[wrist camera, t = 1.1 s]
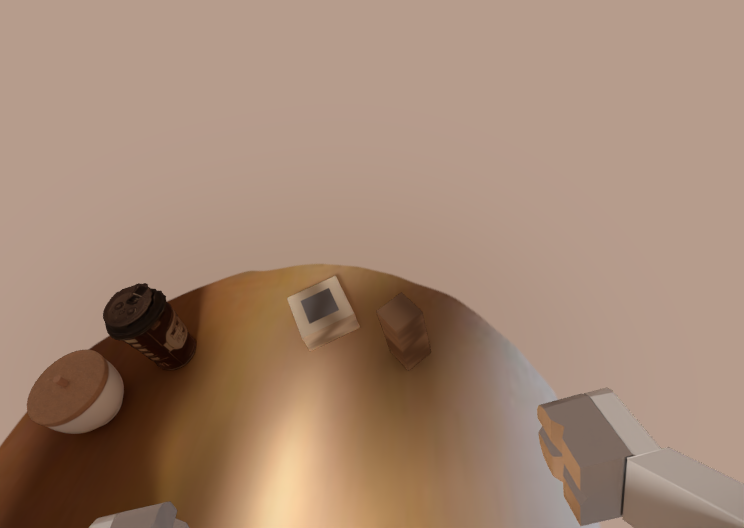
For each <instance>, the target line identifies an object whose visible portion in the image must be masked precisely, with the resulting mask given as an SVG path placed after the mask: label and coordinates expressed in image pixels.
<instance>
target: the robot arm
mask: <svg viewBox="0 0 744 528" xmlns="http://www.w3.org/2000/svg"><path fill="white" fill-rule="evenodd" d="M537 415H538V419H539V421H540V423H541V424H542V428H541V429H540V431H539V440H540V445H541V449H542V452H543V456H544V458H545V460H546V463H547V465H548V467H549V469H550V471H551V473H552V475H553V476H554V477H555V478H557V479H559V480H560V481H562V482H563V489H564V497H565V499H566V501H567V502H568V504H569V506H570V508H571V510H572V511H573V513H574V515H575V517H576V519H577V521H578V522H579V524H580V526H584V525H588V524H592V523H597V522H601V521H605V520H610V519H614V518H619V517H623V520H624V521H626V522H627V523H628V524H630V525H631V526H632V527H634V528H744V484H743V483H741V482H739V481H737V480H735V479H733V478H731V477H729V476H727V475H725V474H723V473H721V472H719V471H717V470H715V469H713V468H711V467H709V466H707V465H705V464H702V463H700V462H698V461H696V460H694V459H692V458H690V457H688V456H686V455H684V454H682V453H680V452H678V451H676V450H674V449H672V448H670V447H667V448H663V449H661V447H660V446H659V445H658V444H657V443H656V442H655V440H654V439H653V438H652V437H651V436H650V435H649V433H648V432H647V431H646V430H645V429H644V427H643V426H642V425H641V424H640V423H639V421H638V420H637V419H636V418H635V417H634V415H633V414H632V413H631V412H630V411H629V410H628V408H627V407H626V406H625V405H624V404H623V402H622V401H621V400H620V399H619V398H618V396H617V395H616V394H615V393H614V392H613V391H612V390H611V389H609V388H604V389H600V390H596V391H592V392H588V393H584V394H578V395H574V396H571V397H567V398H564V399H560V400H556V401H552V402H549V403H545V404H541V405H539V406H538V409H537ZM176 514H177V509H176V508H175V507H174V506H173V504H172V503H171V502H165V503H160V504H156V505H151V506H147V507H143V508H138V509H134V510H129V511H125V512H121V513H117V514H113V515H109V516H105V517H100V518H97V519H96V520H95V521H94V522H93V523H92V524H91V525H90V527H89V528H189V526H188V525H187V523H186V522H183V521H181V520H178V519H176V518H175V517H176Z"/></svg>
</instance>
